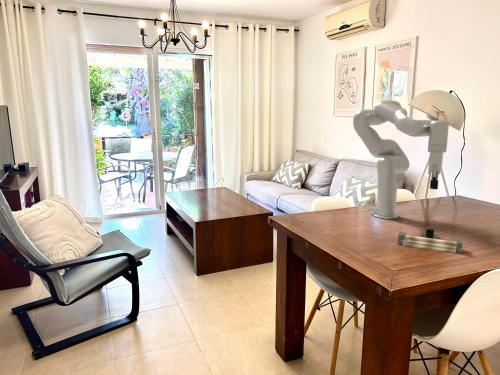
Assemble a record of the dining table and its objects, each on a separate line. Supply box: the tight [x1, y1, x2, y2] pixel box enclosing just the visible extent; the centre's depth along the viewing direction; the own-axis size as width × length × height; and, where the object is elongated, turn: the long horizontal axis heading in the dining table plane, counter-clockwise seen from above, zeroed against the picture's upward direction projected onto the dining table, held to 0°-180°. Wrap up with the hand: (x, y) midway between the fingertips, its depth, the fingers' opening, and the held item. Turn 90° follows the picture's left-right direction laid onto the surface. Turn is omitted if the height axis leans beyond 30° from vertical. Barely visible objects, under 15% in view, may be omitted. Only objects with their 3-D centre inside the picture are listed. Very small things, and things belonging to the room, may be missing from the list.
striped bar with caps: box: [397, 231, 464, 254], centre depth 151 cm, size 23×6×4 cm, turn 62°
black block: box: [422, 226, 438, 239], centre depth 163 cm, size 12×7×5 cm, turn 151°
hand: (433, 188), depth 171 cm, fingers closed
